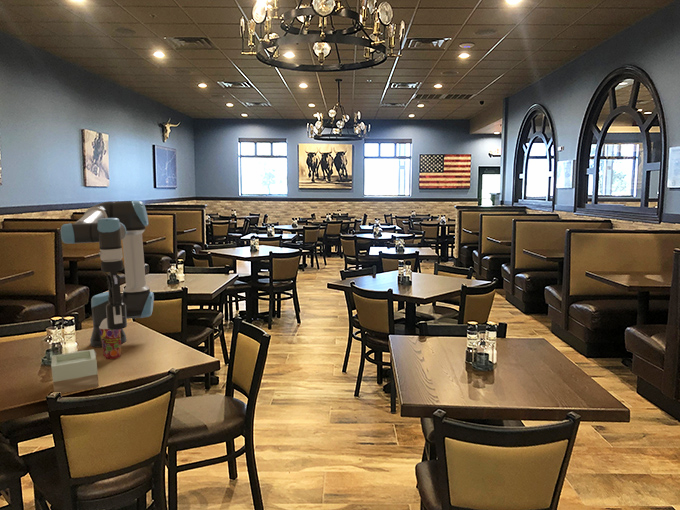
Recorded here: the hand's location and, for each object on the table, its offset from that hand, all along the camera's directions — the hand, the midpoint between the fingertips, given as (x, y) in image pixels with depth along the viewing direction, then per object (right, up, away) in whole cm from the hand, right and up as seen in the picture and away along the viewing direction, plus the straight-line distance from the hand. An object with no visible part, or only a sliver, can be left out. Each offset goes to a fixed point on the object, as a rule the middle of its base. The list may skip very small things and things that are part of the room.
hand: (116, 321), depth 194 cm
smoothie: (-12, -19, +24) cm, 33 cm away
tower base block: (-12, -23, -6) cm, 27 cm away
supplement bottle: (0, -3, 0) cm, 3 cm away
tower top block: (-13, -18, -6) cm, 23 cm away
